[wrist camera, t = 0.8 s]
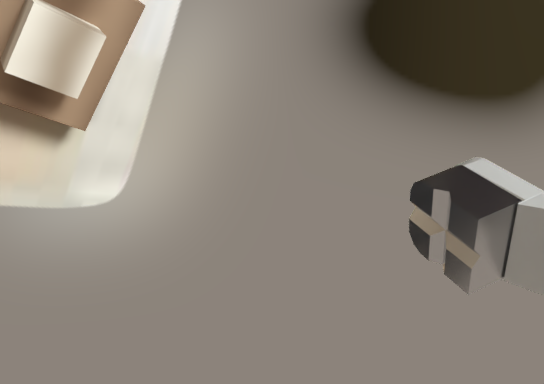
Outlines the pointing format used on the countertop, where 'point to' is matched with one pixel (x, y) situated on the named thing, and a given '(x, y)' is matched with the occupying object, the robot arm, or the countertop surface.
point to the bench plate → (78, 112)
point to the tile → (52, 48)
